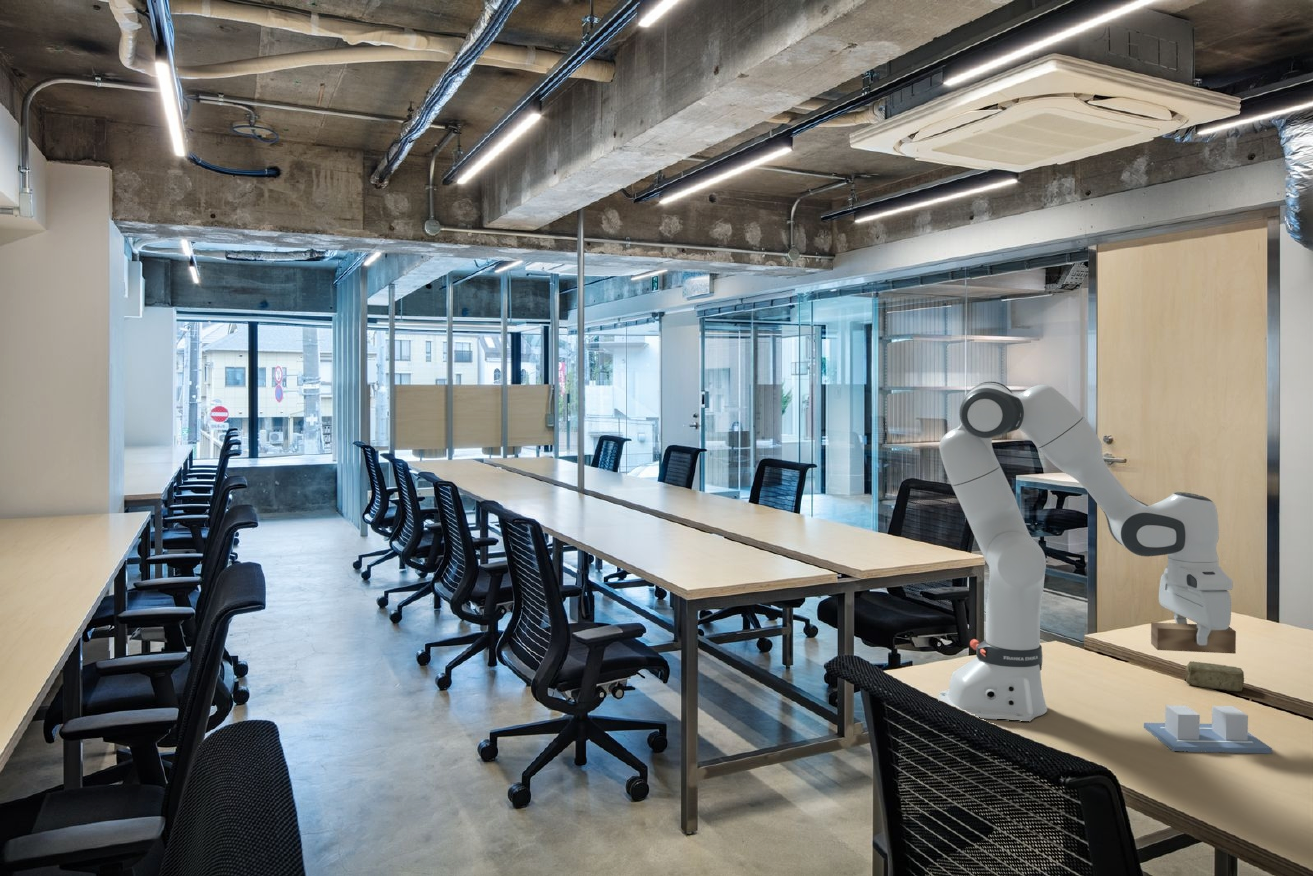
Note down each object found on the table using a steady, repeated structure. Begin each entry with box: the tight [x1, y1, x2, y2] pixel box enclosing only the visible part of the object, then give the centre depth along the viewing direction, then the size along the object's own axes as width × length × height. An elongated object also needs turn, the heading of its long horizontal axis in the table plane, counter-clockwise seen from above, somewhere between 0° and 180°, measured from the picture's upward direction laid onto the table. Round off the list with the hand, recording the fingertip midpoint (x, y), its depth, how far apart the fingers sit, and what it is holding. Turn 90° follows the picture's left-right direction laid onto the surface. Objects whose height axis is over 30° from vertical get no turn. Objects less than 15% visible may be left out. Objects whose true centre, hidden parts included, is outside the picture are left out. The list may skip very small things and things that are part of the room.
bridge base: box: [1143, 704, 1273, 754], centre depth 174 cm, size 18×12×6 cm, turn 85°
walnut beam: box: [1150, 621, 1237, 655], centre depth 178 cm, size 14×4×4 cm, turn 75°
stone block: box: [1184, 660, 1245, 692], centre depth 204 cm, size 6×12×5 cm, turn 60°
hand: (1191, 639), depth 178 cm, fingers closed on walnut beam, 5 cm apart
